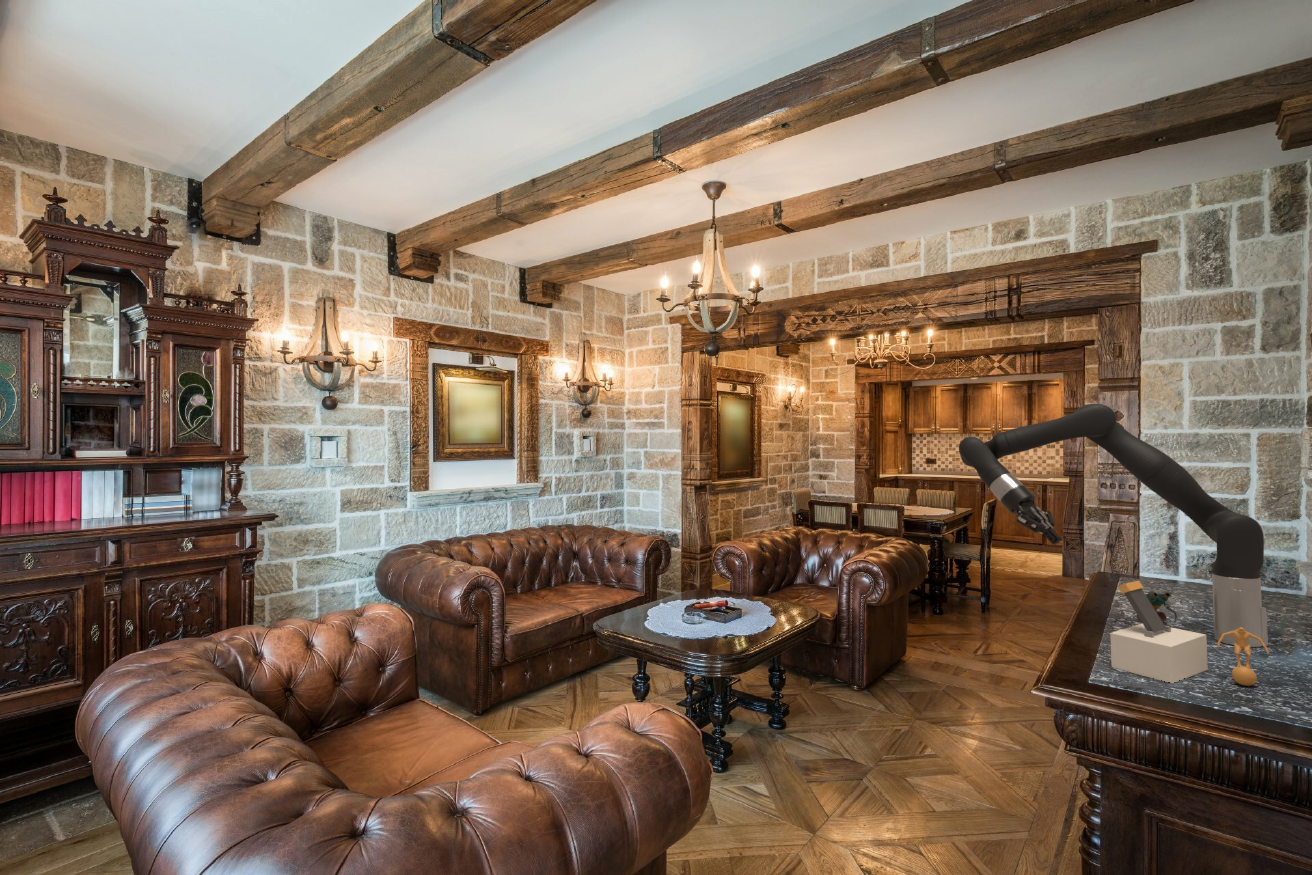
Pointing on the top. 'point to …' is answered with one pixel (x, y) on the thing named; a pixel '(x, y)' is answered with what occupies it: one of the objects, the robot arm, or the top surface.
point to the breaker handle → (1142, 606)
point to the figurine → (1245, 673)
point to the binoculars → (1159, 604)
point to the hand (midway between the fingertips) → (1058, 542)
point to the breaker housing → (1159, 652)
